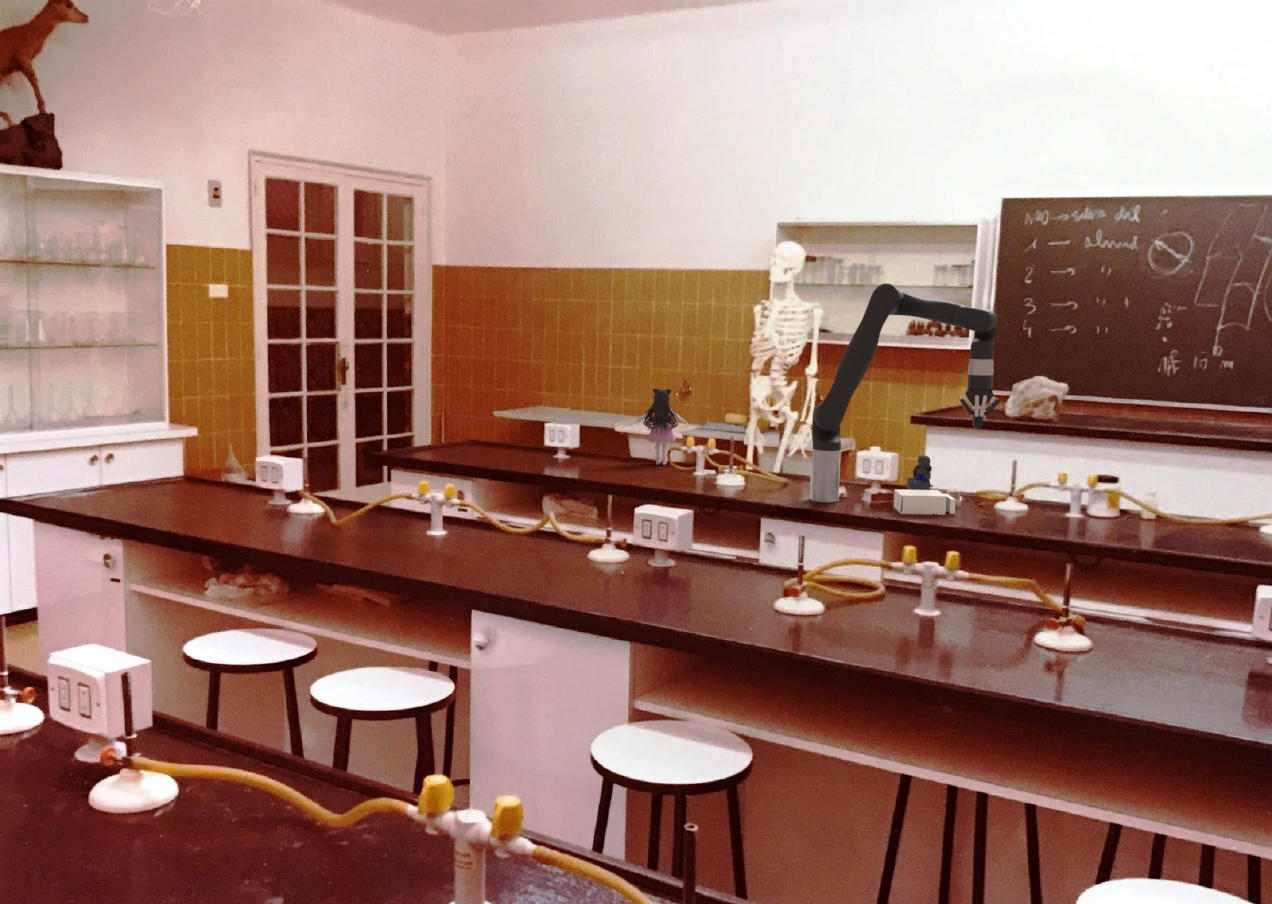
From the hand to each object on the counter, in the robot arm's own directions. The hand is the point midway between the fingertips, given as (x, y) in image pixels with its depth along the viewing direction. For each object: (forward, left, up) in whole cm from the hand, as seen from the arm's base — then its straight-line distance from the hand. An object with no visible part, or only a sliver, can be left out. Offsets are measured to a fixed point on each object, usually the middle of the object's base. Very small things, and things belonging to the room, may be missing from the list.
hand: (977, 428), depth 360 cm
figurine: (-100, +88, -27) cm, 136 cm away
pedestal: (-4, +10, -27) cm, 29 cm away
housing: (-17, 0, -27) cm, 32 cm away
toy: (-13, +22, -27) cm, 37 cm away
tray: (-15, 0, -27) cm, 31 cm away
